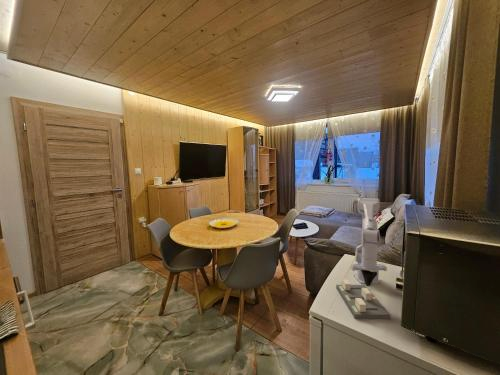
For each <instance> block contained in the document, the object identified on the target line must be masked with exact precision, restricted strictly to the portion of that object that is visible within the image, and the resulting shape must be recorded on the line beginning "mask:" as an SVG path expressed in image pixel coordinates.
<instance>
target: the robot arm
mask: <svg viewBox="0 0 500 375" xmlns="http://www.w3.org/2000/svg"><path fill="white" fill-rule="evenodd" d="M380 201H381V200H380V199H379V198H378V197H377V198H372V197H371V198H370V197H369V198H368V197H358V198H357V212H358V213H359V214H361V217H362V223H361V224H362V226H361V244H360V245H358V246H356V248H355V255H354V257H355V258H354V260H355V262H356V263H354V264H350V270H351V271H353V272H355V271H356V272H357V273H354V274H353V276H354V277H355V278H356V280H357V281H358V282H359V283H360V284H364V285H365V286H366V287H371V286H372V284H379V283H380V282H379V272H380V271H384V272H387V270H388V266H386V265H385V264H380V263H379V264H378V247H379V246H378V245H379V244H380V239H381V235H380V230H379V228H378V221H377V219H376V218H374V217H375V215H378V212H379V210H380V204H381V202H380Z"/></svg>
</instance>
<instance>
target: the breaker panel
mask: <svg viewBox="0 0 500 375" xmlns="http://www.w3.org/2000/svg"><path fill="white" fill-rule="evenodd" d="M335 288H336V291H337V292H338V294H339V295H340V297H341V299H342V300H343V302H344V304H345V306H346V307H347V309H348V310H349V313H351V315H352V316H353V318H354V320H364V319H365V320H391V314H390V313H389V311H388V310H387V309H386V307H385V306H383V304H382V303H381V302H380V301H379V299H377V297H376V296H375V295H374V293H372V291H371V290H370V289H369V288H368V286H366V284H351V287H350V290H345V289H344V288H343V286H342V284H336V286H335ZM362 288H367V289H368V290H369V291H370V292H371V293H372V298H371V300H365V299H364V297H363V296H362V295H361V291H362ZM355 298H361V299H362V300H363V301H364V303H365V304H366V312H360V311H359V310H358V308H357V307H356V306H355Z"/></svg>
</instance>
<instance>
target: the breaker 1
mask: <svg viewBox="0 0 500 375" xmlns="http://www.w3.org/2000/svg"><path fill="white" fill-rule="evenodd" d="M341 285H342V286H343V288H344V289H345V290H350V287H351V285H352V284H351V282H350V281H349V280H348V279H346V278H343V279H341Z"/></svg>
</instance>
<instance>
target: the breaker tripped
mask: <svg viewBox="0 0 500 375" xmlns="http://www.w3.org/2000/svg"><path fill="white" fill-rule="evenodd" d="M367 288H368V287H367ZM367 288H362V291H361V295H362V296H363V297H364V299H365V300H371V298H372V294H373V292H372V291H371V290H370V289H369V288H368V289H369V290H370V291H371V292H370V291H369V290H368V289H367Z"/></svg>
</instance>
